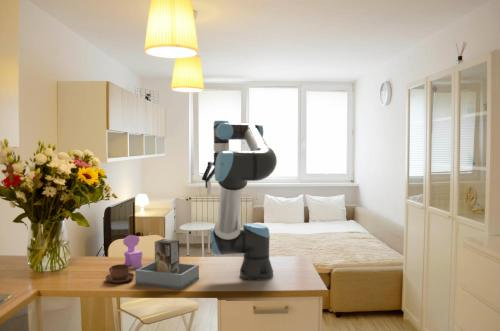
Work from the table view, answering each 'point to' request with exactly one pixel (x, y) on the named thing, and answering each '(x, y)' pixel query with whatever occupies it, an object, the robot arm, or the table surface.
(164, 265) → the coffee box
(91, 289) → the table surface
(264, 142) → the robot arm
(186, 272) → the walled bin
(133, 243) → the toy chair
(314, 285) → the table surface
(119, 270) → the cup and saucer
